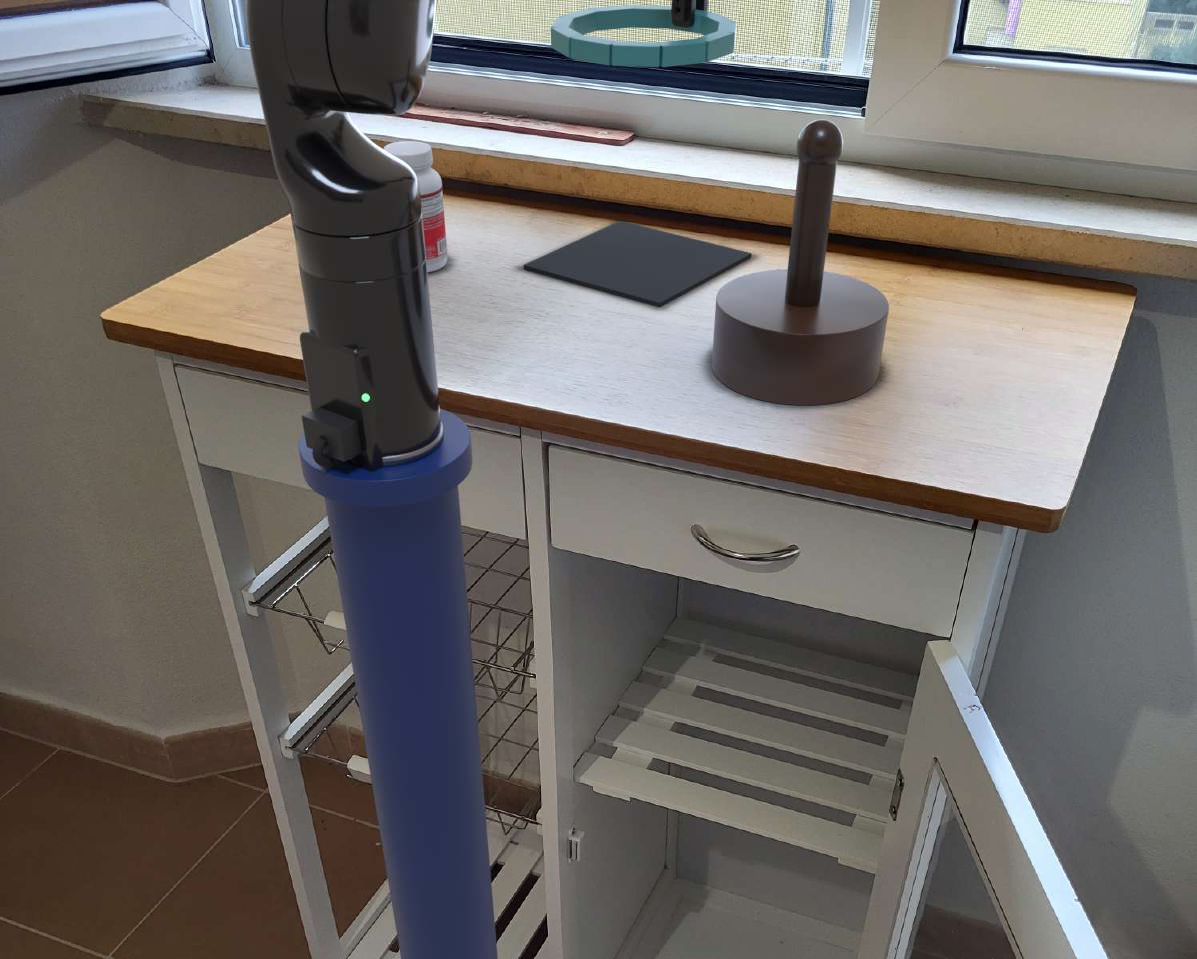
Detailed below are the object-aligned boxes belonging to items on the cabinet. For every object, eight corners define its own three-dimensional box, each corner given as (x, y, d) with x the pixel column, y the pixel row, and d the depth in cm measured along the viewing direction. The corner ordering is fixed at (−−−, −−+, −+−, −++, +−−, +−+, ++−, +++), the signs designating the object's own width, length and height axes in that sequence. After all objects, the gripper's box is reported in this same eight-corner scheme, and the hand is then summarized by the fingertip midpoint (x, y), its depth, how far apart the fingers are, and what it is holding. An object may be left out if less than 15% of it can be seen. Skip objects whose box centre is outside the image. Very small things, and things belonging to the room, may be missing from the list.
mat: (659, 307, 119) (660, 303, 119) (523, 268, 126) (523, 264, 126) (751, 257, 129) (751, 253, 129) (620, 224, 136) (620, 220, 136)
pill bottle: (380, 259, 128) (366, 143, 121) (435, 250, 130) (425, 135, 123) (400, 279, 124) (388, 160, 117) (457, 269, 126) (448, 151, 119)
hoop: (667, 76, 106) (668, 55, 104) (516, 48, 113) (515, 28, 112) (768, 40, 115) (769, 20, 114) (622, 17, 123) (623, -2, 122)
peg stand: (827, 421, 101) (863, 159, 88) (679, 375, 107) (691, 125, 94) (906, 361, 110) (950, 115, 96) (765, 322, 116) (788, 86, 103)
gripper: (705, -215, 112) (695, 7, 124) (618, -206, 104) (615, 31, 116) (777, -211, 109) (759, 17, 121) (692, -201, 101) (682, 42, 113)
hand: (689, 23), depth 118 cm, fingers closed on hoop, 1 cm apart
